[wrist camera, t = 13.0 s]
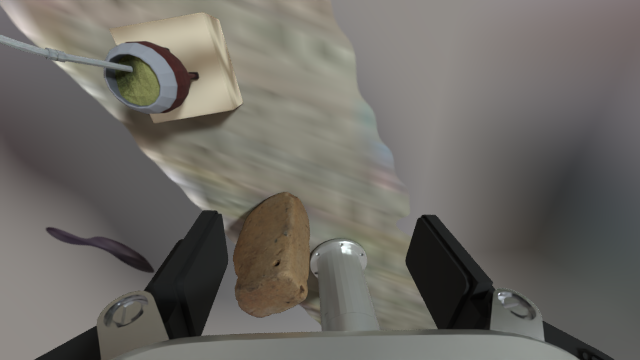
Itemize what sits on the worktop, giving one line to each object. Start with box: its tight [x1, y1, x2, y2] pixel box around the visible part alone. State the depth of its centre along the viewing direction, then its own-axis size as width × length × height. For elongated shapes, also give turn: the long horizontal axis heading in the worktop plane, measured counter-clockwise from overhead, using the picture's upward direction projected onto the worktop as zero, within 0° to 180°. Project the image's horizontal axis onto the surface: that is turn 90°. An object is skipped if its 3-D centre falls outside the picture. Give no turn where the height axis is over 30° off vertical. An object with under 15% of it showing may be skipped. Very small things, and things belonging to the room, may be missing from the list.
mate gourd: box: [0, 35, 199, 114], centre depth 23 cm, size 8×8×15 cm
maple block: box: [109, 12, 243, 123], centre depth 32 cm, size 11×11×6 cm
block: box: [233, 192, 310, 318], centre depth 38 cm, size 11×8×20 cm
